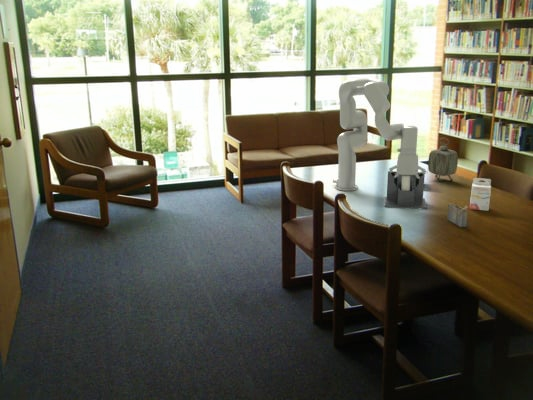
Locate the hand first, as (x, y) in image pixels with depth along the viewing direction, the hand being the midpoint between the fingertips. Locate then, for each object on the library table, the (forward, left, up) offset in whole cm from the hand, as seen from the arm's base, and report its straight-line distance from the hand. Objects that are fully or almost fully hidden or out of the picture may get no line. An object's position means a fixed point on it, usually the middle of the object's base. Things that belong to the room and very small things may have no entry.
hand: (406, 185), depth 266 cm
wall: (-14, +37, -10) cm, 41 cm away
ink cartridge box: (+31, +16, -10) cm, 36 cm away
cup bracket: (-1, +1, -10) cm, 10 cm away
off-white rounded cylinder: (0, 0, -7) cm, 7 cm away
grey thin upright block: (+31, -11, -10) cm, 35 cm away
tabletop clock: (-7, +57, -10) cm, 58 cm away
